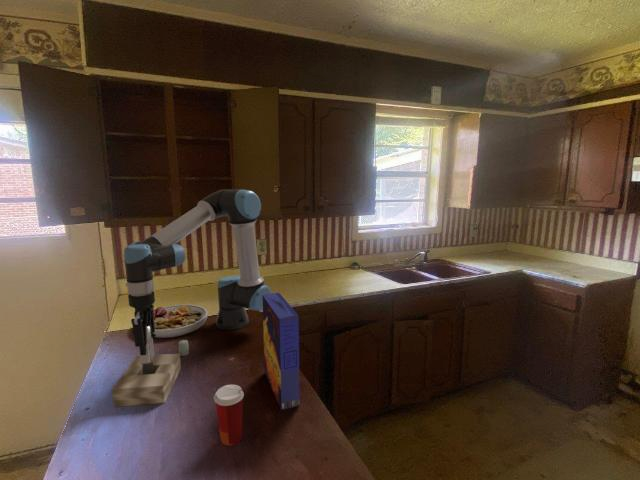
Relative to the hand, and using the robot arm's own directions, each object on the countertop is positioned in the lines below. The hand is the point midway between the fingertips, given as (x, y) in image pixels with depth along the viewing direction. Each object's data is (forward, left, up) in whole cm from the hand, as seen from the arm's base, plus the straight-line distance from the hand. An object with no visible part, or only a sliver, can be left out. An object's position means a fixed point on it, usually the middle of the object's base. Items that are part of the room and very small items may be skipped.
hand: (147, 359), depth 117 cm
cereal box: (-44, +7, -10) cm, 46 cm away
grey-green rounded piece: (-6, -21, -10) cm, 24 cm away
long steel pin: (0, 0, -4) cm, 4 cm away
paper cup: (-30, +28, -10) cm, 42 cm away
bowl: (+5, -49, -10) cm, 51 cm away
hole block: (0, 0, -10) cm, 10 cm away
